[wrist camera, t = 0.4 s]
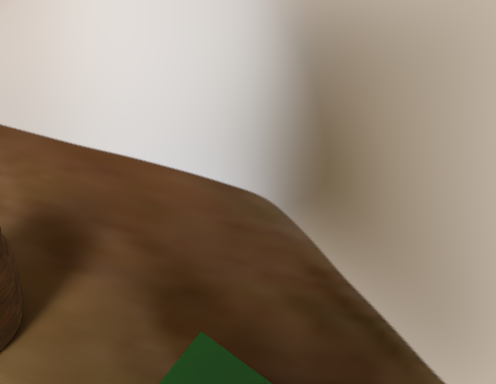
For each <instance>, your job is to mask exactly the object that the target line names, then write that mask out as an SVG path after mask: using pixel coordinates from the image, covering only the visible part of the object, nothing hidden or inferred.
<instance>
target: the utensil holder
mask: <svg viewBox="0 0 496 384" xmlns="http://www.w3.org/2000/svg"><path fill="white" fill-rule="evenodd" d="M22 312H23V299H22V292H21V286H20V281H19V276H18V271H17V266H16V262H15V258H14V254H13V252H12V249H11V247H10V245H9V243H8V241H7V239H6V238H5V237H4V236H3V234H2V233H1V228H0V351H1V350H2V349H3V348H4V347H5V346H6V345H7V344H8V343H9V342H10V340H11V339H12V338H13V336H14V335H15V333H16V331H17V329H18V327H19V325H20V322H21V318H22Z"/></svg>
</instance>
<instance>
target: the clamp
mask: <svg viewBox="0 0 496 384" xmlns="http://www.w3.org/2000/svg"><path fill="white" fill-rule="evenodd" d="M159 384H272V383H271V382H269V381H268V380H267V379H265V378H264V377H263V376H261V375H260V374H258V373H257V372H256V371H254V370H253V369H252V368H250V367H249V366H248V365H246V364H245V363H244V362H242V361H241V360H240V359H238V358H237V357H235V356H234V355H233V354H231V353H230V352H229V351H227V350H226V349H225V348H223V347H222V346H221V345H219V344H218V343H216V342H215V341H214V340H212V339H211V338H210V337H208V336H207V335H206V334H204V333H203V332H202V331H201V332H200V334H199V335H198V336H197V337H196V339H195V340H194V341H193V342H192V344H191V345H190V346H189V347H188V349H187V350H186V351H185V352H184V354H183V355H182V356H181V357H180V359H179V360H178V361H177V362H176V364H175V365H174V366H173V367H172V369H171V370H170V371H169V372H168V374H167V375H166V376H165V377H164V379H163V380H162V381H161V382H160V383H159Z"/></svg>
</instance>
